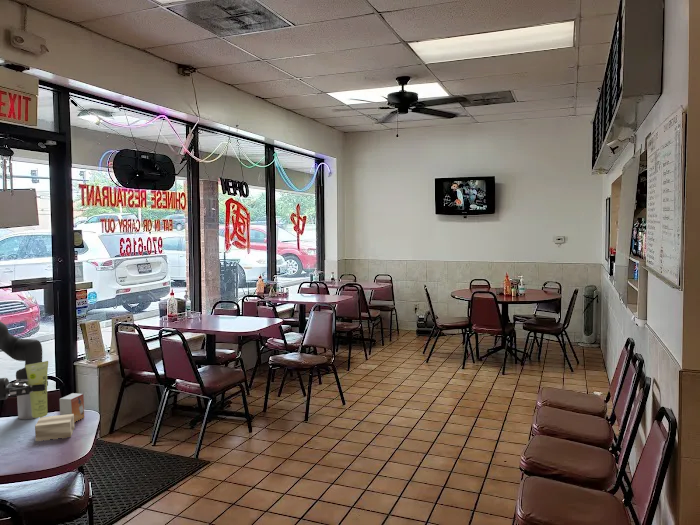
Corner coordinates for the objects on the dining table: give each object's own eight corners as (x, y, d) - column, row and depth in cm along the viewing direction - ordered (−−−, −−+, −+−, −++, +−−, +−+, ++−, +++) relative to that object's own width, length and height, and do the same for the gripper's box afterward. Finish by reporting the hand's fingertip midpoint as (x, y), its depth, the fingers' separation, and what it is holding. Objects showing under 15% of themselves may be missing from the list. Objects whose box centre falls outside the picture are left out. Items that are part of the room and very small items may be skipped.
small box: (72, 424, 232) (70, 399, 231) (60, 423, 233) (58, 398, 233) (85, 417, 240) (83, 393, 239) (73, 416, 241) (72, 392, 240)
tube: (41, 419, 201) (38, 364, 199) (27, 418, 201) (24, 364, 199) (50, 413, 206) (48, 360, 205) (37, 413, 207) (34, 360, 205)
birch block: (41, 432, 224) (40, 417, 224) (74, 428, 228) (73, 413, 227) (35, 441, 215) (34, 426, 214) (70, 437, 218) (69, 422, 218)
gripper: (-15, 385, 191) (41, 380, 197) (-4, 373, 205) (49, 369, 210) (-14, 406, 192) (42, 401, 197) (-2, 394, 205) (50, 389, 211)
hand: (46, 385), depth 204 cm, fingers closed on tube, 4 cm apart
